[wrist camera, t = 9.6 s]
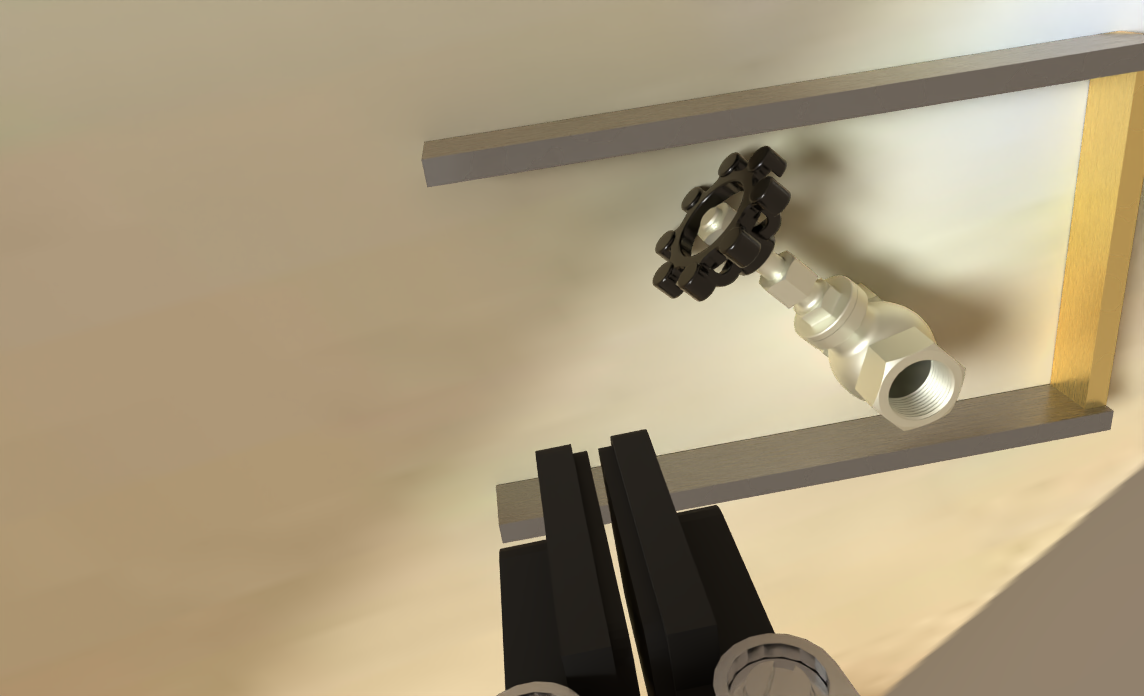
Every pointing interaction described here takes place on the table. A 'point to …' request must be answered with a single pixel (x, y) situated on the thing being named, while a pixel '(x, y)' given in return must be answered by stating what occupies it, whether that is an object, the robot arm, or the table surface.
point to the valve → (809, 295)
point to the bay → (1109, 145)
